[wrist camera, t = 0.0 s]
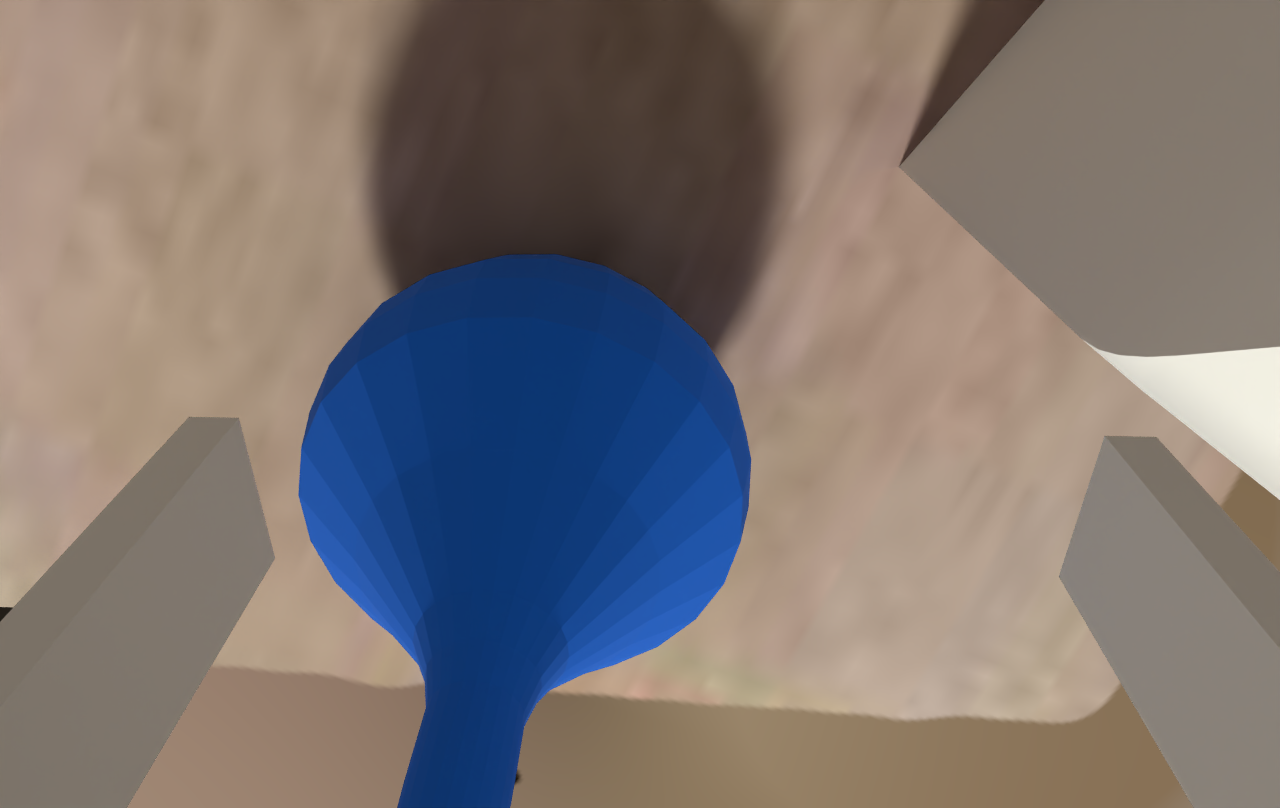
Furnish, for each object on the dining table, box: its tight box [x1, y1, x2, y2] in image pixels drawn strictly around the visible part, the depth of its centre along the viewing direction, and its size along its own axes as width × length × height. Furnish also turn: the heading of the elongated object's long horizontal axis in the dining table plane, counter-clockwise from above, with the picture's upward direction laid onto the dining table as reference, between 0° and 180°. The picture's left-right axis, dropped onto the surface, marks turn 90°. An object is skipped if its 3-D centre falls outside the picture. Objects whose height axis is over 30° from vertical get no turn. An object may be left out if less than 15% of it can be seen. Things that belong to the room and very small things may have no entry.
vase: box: [299, 254, 751, 808], centre depth 31 cm, size 18×18×30 cm
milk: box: [899, 0, 1280, 499], centre depth 27 cm, size 12×12×26 cm
